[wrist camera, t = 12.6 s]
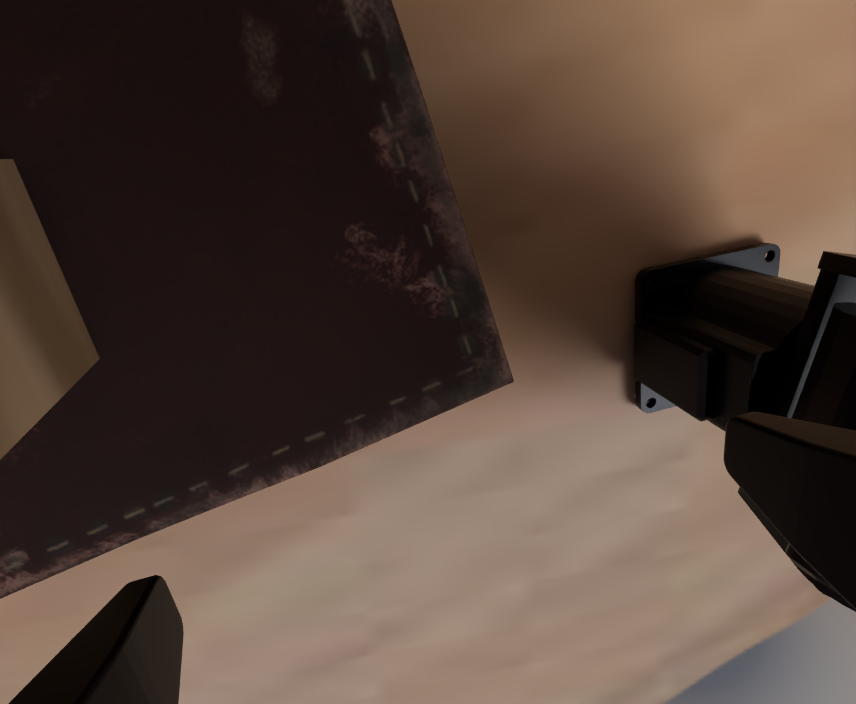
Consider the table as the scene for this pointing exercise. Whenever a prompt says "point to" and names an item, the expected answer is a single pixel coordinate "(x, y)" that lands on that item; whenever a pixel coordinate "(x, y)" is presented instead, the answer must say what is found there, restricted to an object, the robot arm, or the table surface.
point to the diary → (228, 257)
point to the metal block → (33, 317)
